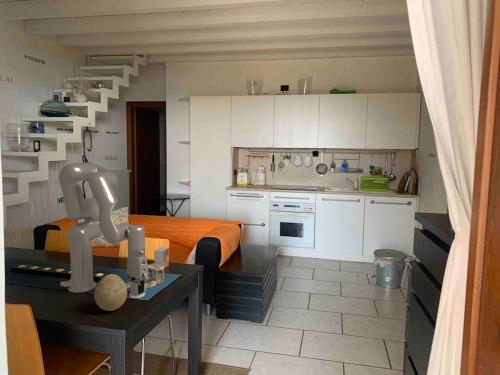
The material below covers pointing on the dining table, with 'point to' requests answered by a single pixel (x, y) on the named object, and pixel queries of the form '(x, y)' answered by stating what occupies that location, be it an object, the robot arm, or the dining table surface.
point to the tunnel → (153, 268)
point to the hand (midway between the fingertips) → (137, 290)
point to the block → (135, 286)
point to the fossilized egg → (110, 292)
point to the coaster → (136, 295)
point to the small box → (161, 256)
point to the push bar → (152, 278)
